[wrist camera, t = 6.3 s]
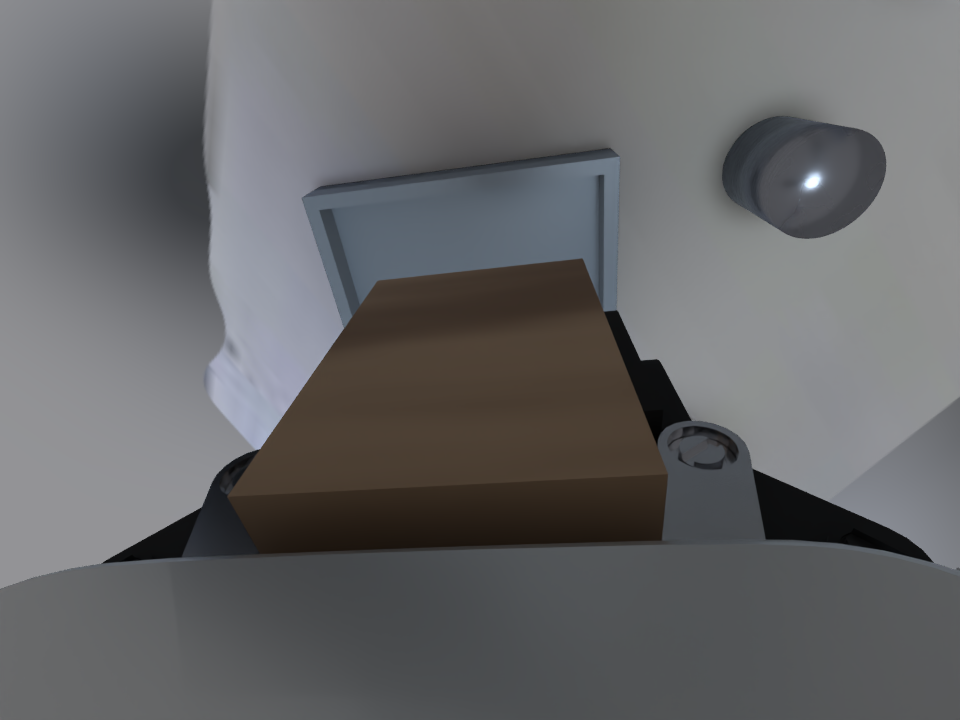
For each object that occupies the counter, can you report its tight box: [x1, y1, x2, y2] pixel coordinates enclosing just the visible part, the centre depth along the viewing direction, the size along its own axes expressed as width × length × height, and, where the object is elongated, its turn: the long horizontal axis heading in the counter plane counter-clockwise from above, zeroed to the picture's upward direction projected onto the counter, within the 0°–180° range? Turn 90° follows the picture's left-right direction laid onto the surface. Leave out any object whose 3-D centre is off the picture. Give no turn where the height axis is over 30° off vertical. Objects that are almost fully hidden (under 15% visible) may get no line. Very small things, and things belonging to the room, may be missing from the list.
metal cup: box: [722, 116, 886, 239], centre depth 24 cm, size 5×5×6 cm
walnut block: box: [227, 258, 668, 554], centre depth 9 cm, size 5×5×7 cm
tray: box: [302, 148, 620, 328], centre depth 31 cm, size 14×18×3 cm
